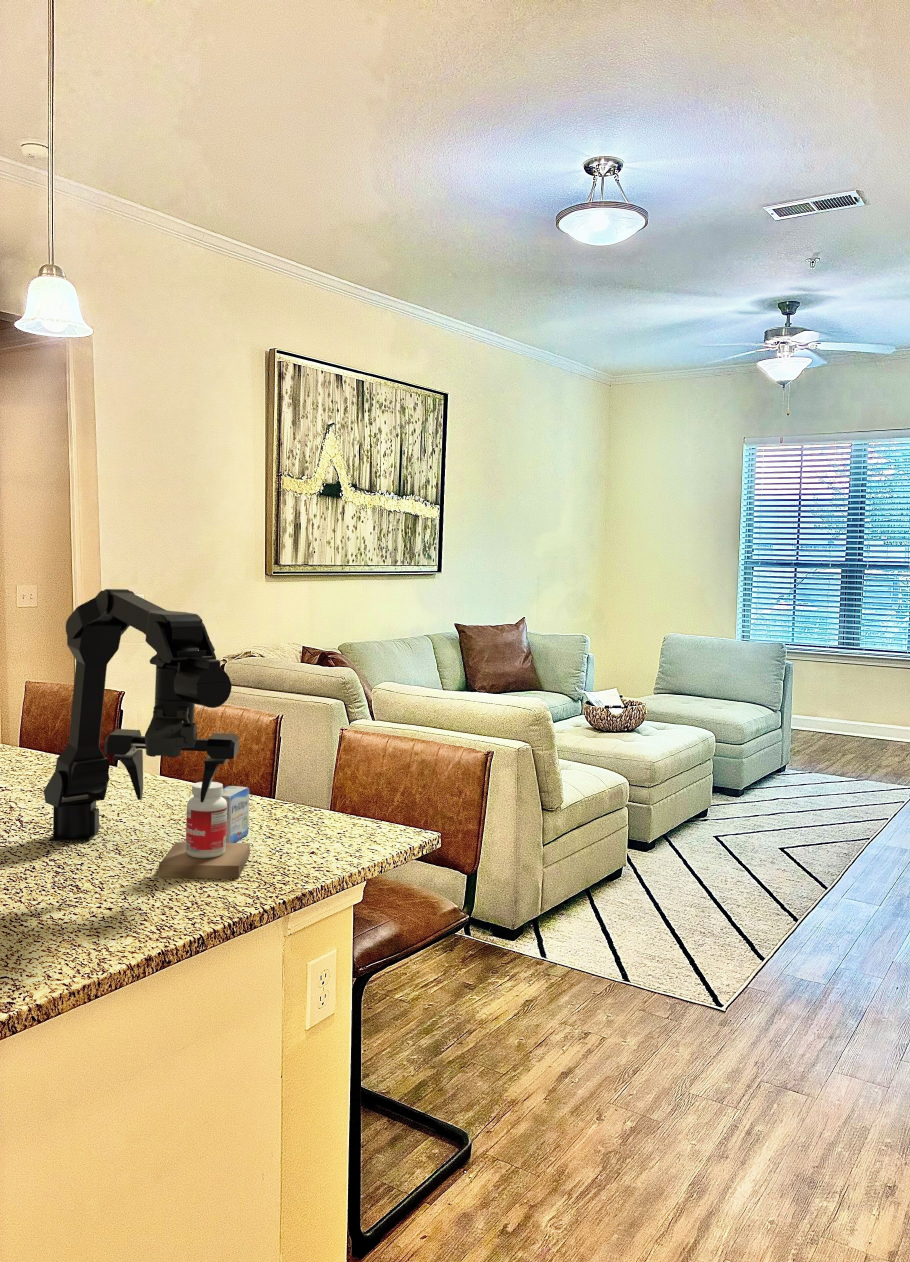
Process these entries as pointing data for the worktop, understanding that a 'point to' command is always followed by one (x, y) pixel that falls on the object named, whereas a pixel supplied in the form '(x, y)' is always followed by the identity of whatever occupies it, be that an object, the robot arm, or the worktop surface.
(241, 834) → the medicine box
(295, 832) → the worktop surface
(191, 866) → the walnut plinth
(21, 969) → the worktop surface
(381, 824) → the worktop surface
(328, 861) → the worktop surface
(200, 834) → the pill bottle
